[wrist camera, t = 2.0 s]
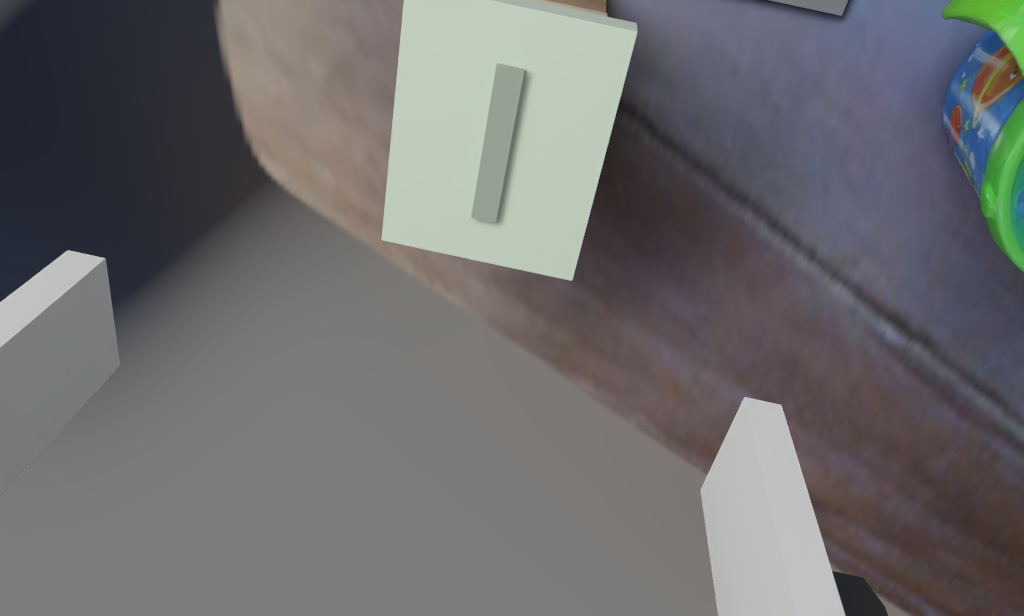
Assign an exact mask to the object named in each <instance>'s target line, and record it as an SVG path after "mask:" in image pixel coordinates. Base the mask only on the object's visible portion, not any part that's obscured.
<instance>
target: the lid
mask: <svg viewBox="0 0 1024 616" xmlns="http://www.w3.org/2000/svg"><path fill="white" fill-rule="evenodd" d="M637 32H638V31H637V23H634V22H629V21H625V20H620V19H615V18H611V17H606V16H601V15H597V14H592V13H587V12H583V11H578V10H573V9H569V8H564V7H559V6H555V5H550V4H545V3H541V2H536V1H531V0H404V6H403V16H402V27H401V38H400V48H399V59H398V70H397V80H396V91H395V102H394V112H393V123H392V134H391V144H390V155H389V166H388V177H387V187H386V198H385V209H384V219H383V230H382V240H383V241H388V242H393V243H397V244H402V245H407V246H411V247H416V248H421V249H425V250H430V251H435V252H439V253H444V254H449V255H453V256H458V257H463V258H467V259H472V260H477V261H481V262H486V263H491V264H495V265H500V266H505V267H509V268H514V269H519V270H523V271H528V272H533V273H538V274H542V275H547V276H552V277H556V278H561V279H566V280H570V281H572V280H573V276H574V272H575V268H576V265H577V261H578V257H579V253H580V249H581V246H582V242H583V238H584V234H585V230H586V227H587V223H588V219H589V215H590V211H591V208H592V204H593V200H594V196H595V192H596V188H597V185H598V181H599V177H600V173H601V169H602V166H603V162H604V158H605V154H606V150H607V147H608V143H609V139H610V135H611V131H612V128H613V124H614V120H615V116H616V112H617V109H618V105H619V101H620V97H621V93H622V89H623V86H624V82H625V78H626V74H627V70H628V67H629V63H630V59H631V55H632V51H633V48H634V44H635V40H636V36H637Z"/></svg>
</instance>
